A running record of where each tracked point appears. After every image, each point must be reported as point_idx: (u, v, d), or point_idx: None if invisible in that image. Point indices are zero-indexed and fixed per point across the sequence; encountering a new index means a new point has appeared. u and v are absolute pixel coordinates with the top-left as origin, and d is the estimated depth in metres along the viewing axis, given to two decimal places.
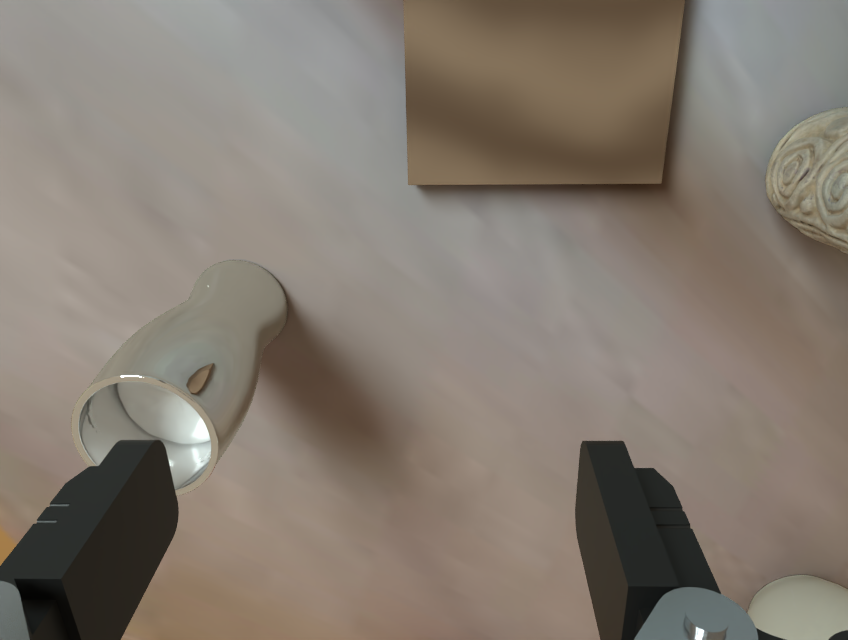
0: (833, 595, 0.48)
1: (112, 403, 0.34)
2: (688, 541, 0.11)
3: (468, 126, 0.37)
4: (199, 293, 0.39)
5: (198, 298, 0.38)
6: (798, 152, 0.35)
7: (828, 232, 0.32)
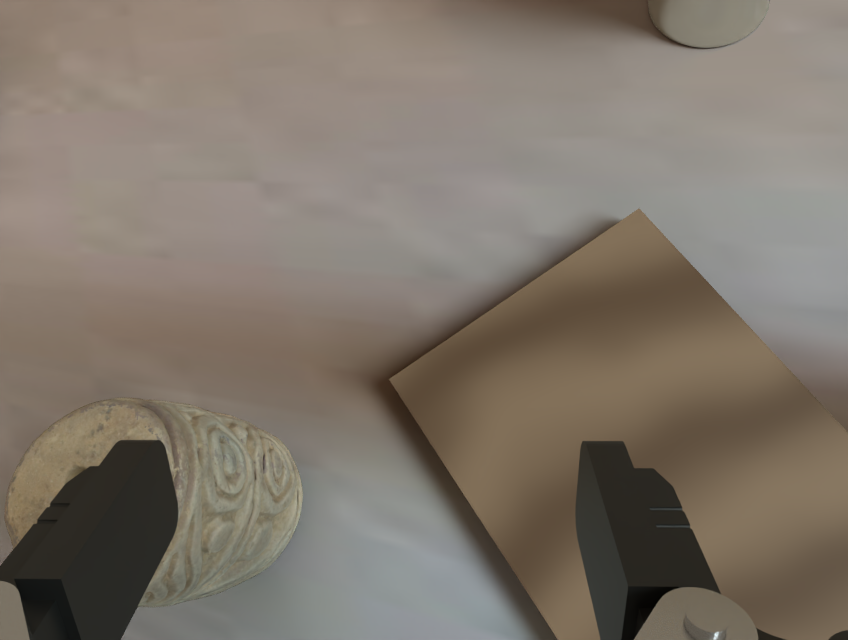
0: None
1: None
2: (688, 541, 0.11)
3: (624, 300, 0.31)
4: None
5: None
6: (282, 488, 0.29)
7: (202, 409, 0.25)
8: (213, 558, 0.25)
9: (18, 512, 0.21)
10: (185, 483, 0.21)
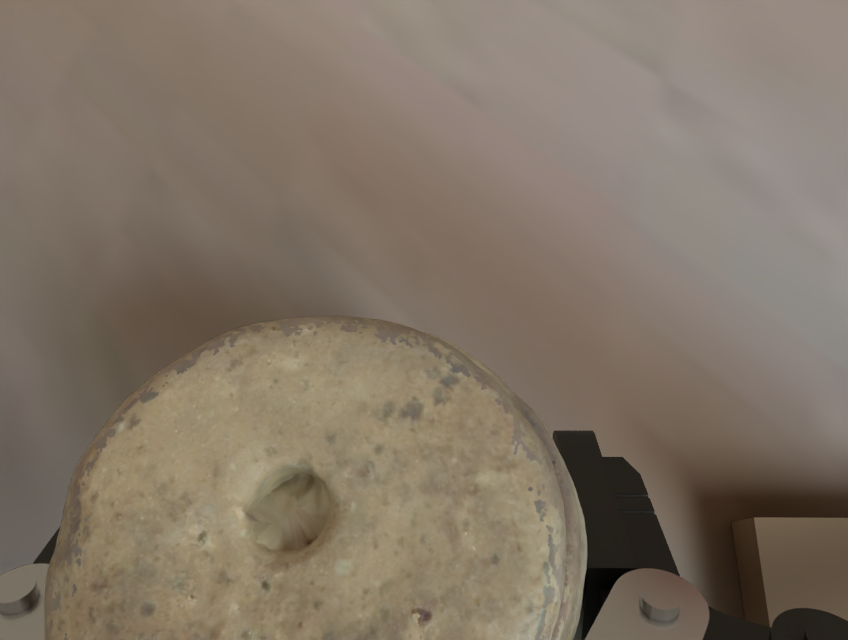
0: None
1: None
2: (651, 526, 0.11)
3: None
4: None
5: None
6: None
7: None
8: None
9: (116, 490, 0.08)
10: None
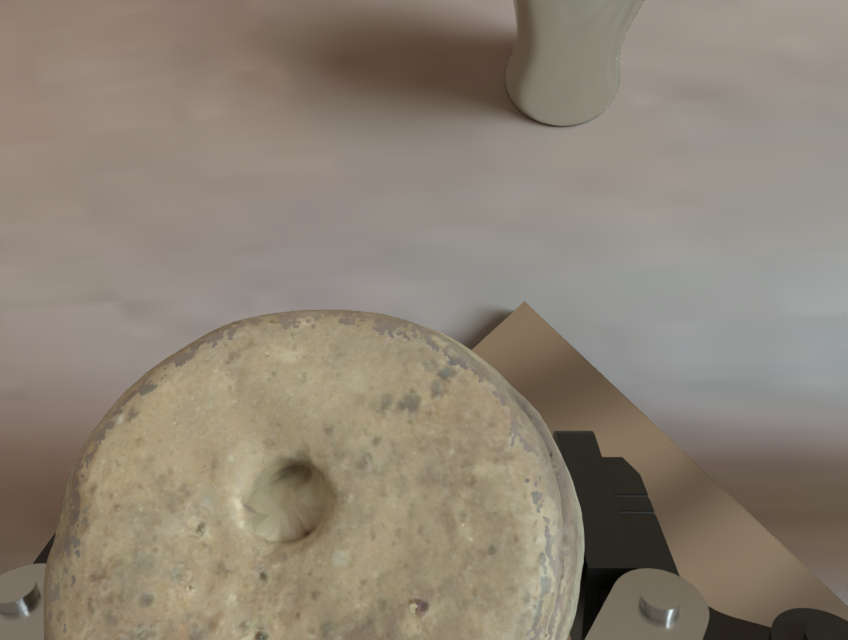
0: None
1: None
2: (651, 526, 0.11)
3: None
4: (622, 41, 0.33)
5: (627, 28, 0.31)
6: None
7: None
8: None
9: (115, 481, 0.08)
10: None
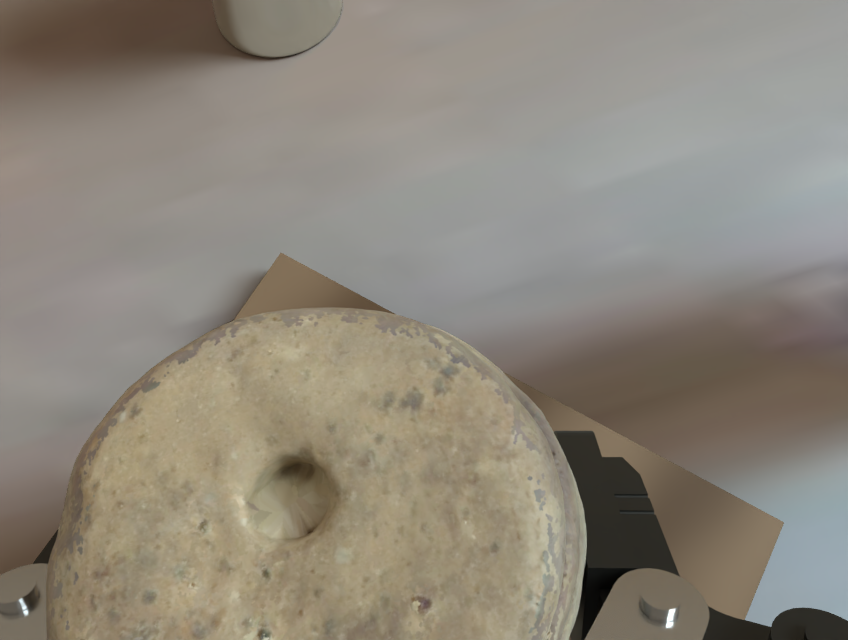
0: None
1: None
2: (651, 526, 0.11)
3: None
4: None
5: None
6: None
7: None
8: None
9: (117, 479, 0.08)
10: None
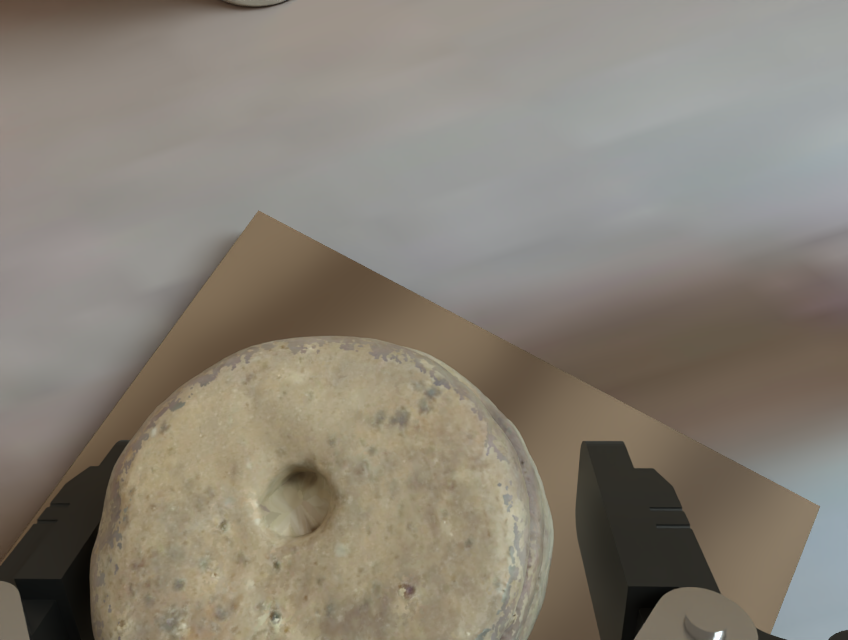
0: None
1: None
2: (688, 541, 0.11)
3: (279, 331, 0.23)
4: None
5: None
6: None
7: None
8: None
9: (150, 485, 0.09)
10: None
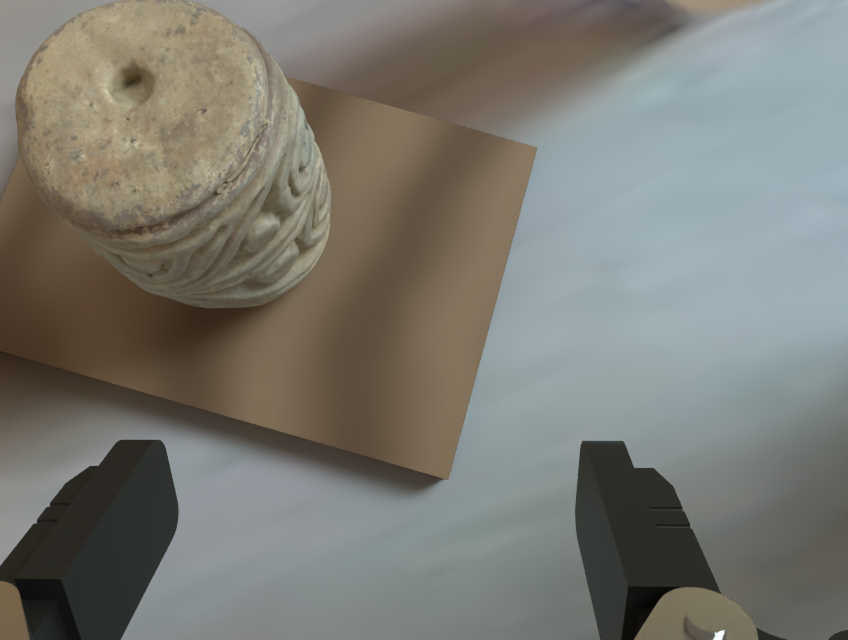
0: None
1: None
2: (688, 541, 0.11)
3: None
4: None
5: None
6: (319, 221, 0.24)
7: None
8: (238, 260, 0.20)
9: (41, 91, 0.16)
10: (270, 143, 0.16)
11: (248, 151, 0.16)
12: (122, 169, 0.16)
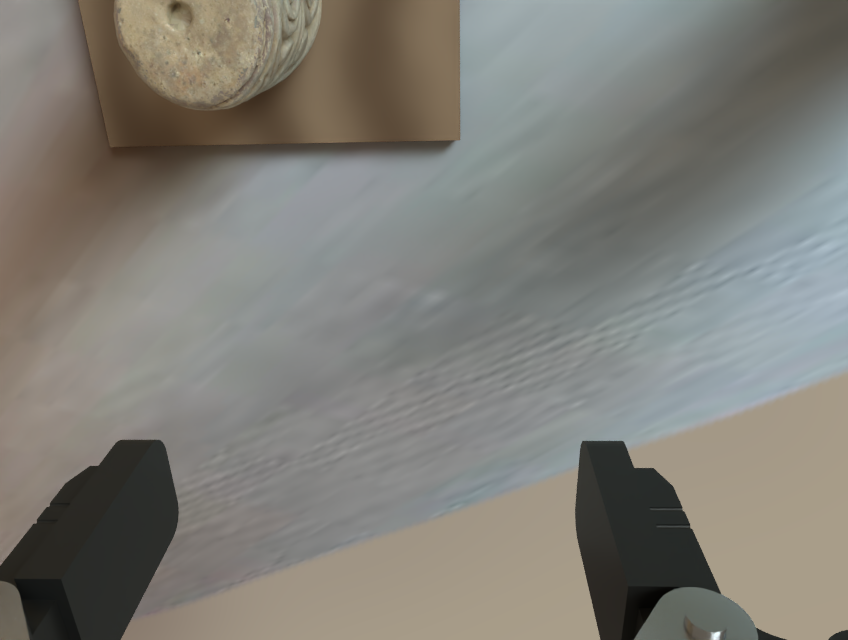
0: None
1: None
2: (688, 541, 0.11)
3: None
4: None
5: None
6: None
7: None
8: (276, 68, 0.31)
9: (134, 40, 0.26)
10: (272, 19, 0.26)
11: (263, 34, 0.26)
12: (202, 73, 0.26)
